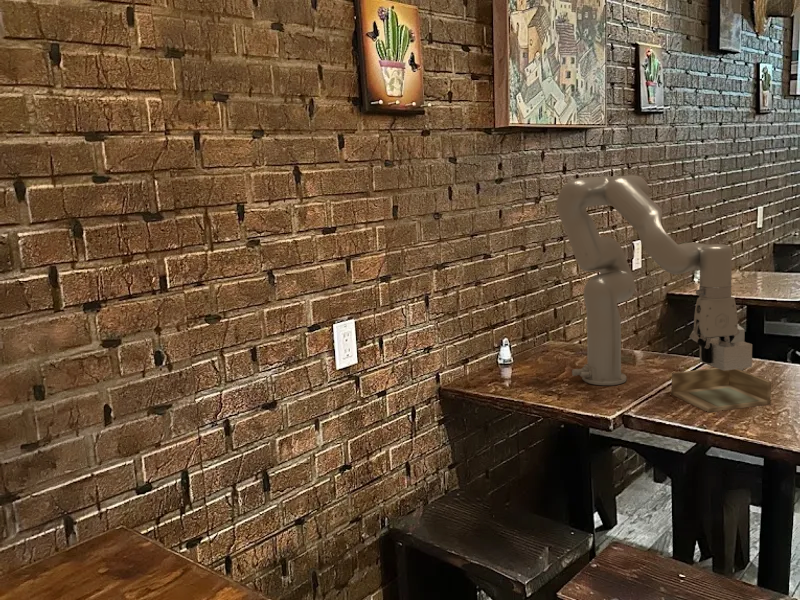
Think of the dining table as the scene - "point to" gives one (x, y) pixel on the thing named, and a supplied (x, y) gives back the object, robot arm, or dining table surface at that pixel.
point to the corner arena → (721, 389)
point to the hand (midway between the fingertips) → (714, 360)
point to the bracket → (729, 355)
